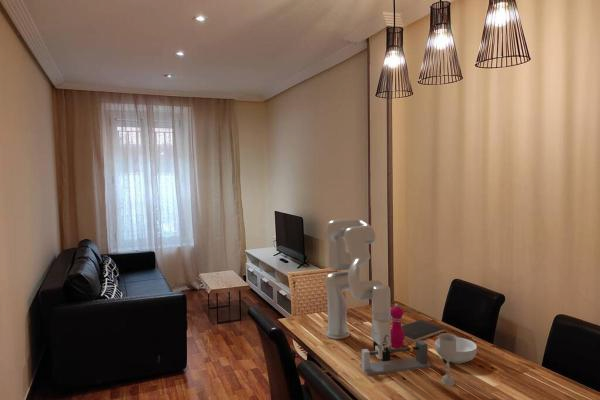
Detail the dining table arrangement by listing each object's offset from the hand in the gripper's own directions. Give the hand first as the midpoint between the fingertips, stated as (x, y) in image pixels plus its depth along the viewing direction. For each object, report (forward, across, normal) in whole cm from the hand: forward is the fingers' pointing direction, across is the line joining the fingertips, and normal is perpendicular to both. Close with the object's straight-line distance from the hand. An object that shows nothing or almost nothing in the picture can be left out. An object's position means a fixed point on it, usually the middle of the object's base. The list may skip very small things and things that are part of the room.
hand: (381, 355), depth 174 cm
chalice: (+6, +17, +20) cm, 27 cm away
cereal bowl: (+6, 0, +34) cm, 34 cm away
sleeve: (0, 0, 0) cm, 0 cm away
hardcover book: (+6, -33, +33) cm, 47 cm away
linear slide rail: (+5, 0, +6) cm, 8 cm away
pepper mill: (+6, -20, +16) cm, 26 cm away
